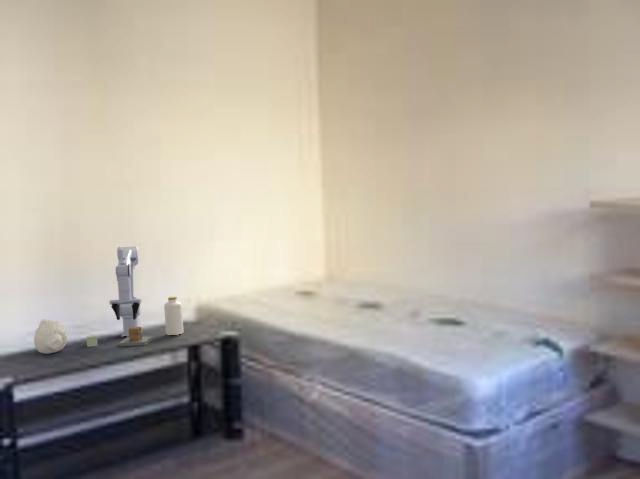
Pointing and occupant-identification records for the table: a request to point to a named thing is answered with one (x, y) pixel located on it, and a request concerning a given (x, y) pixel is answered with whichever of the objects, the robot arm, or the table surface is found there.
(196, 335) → the table surface
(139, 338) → the walnut block
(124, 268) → the robot arm
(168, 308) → the potion bottle
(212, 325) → the table surface
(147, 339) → the grey square tile
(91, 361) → the table surface
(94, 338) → the pale green block
